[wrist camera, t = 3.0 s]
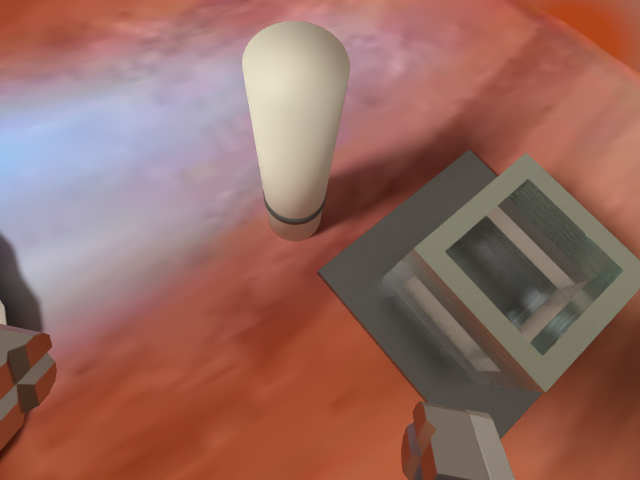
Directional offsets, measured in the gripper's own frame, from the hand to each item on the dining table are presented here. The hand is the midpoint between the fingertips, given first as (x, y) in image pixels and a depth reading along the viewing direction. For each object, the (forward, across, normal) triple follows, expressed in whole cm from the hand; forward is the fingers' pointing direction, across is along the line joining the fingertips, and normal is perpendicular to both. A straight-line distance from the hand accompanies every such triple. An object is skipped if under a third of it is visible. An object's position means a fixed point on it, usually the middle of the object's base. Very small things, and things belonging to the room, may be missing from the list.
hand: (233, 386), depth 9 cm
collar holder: (+19, -13, +7) cm, 24 cm away
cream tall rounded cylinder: (+21, +1, +5) cm, 22 cm away
